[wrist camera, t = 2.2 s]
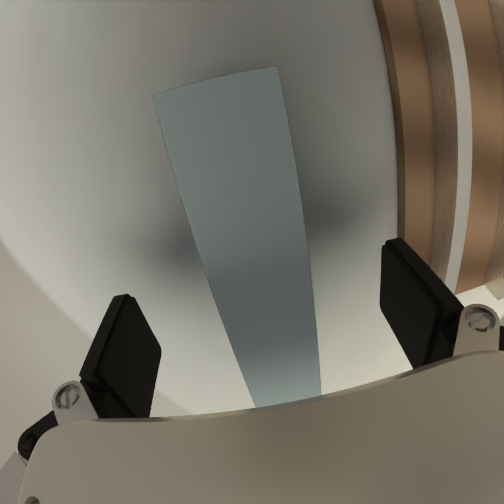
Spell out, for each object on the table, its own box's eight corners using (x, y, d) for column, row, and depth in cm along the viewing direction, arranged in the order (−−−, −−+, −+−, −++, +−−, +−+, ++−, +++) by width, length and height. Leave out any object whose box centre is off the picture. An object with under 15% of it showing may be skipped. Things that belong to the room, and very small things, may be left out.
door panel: (191, 92, 12) (152, 95, 6) (256, 78, 12) (277, 65, 6) (252, 324, 19) (260, 420, 13) (299, 315, 19) (322, 408, 13)
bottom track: (367, -23, 9) (392, -39, 7) (507, 10, 9) (536, 9, 6) (392, 305, 19) (409, 333, 17) (502, 269, 19) (521, 289, 16)
